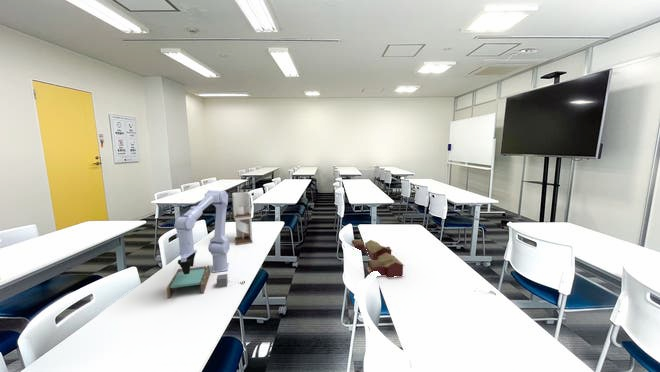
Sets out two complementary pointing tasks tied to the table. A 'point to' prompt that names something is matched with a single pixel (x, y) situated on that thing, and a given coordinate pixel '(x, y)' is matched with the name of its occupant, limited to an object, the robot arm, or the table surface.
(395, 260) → the toy houses
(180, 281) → the trapdoor
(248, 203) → the display case
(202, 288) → the frame
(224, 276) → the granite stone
